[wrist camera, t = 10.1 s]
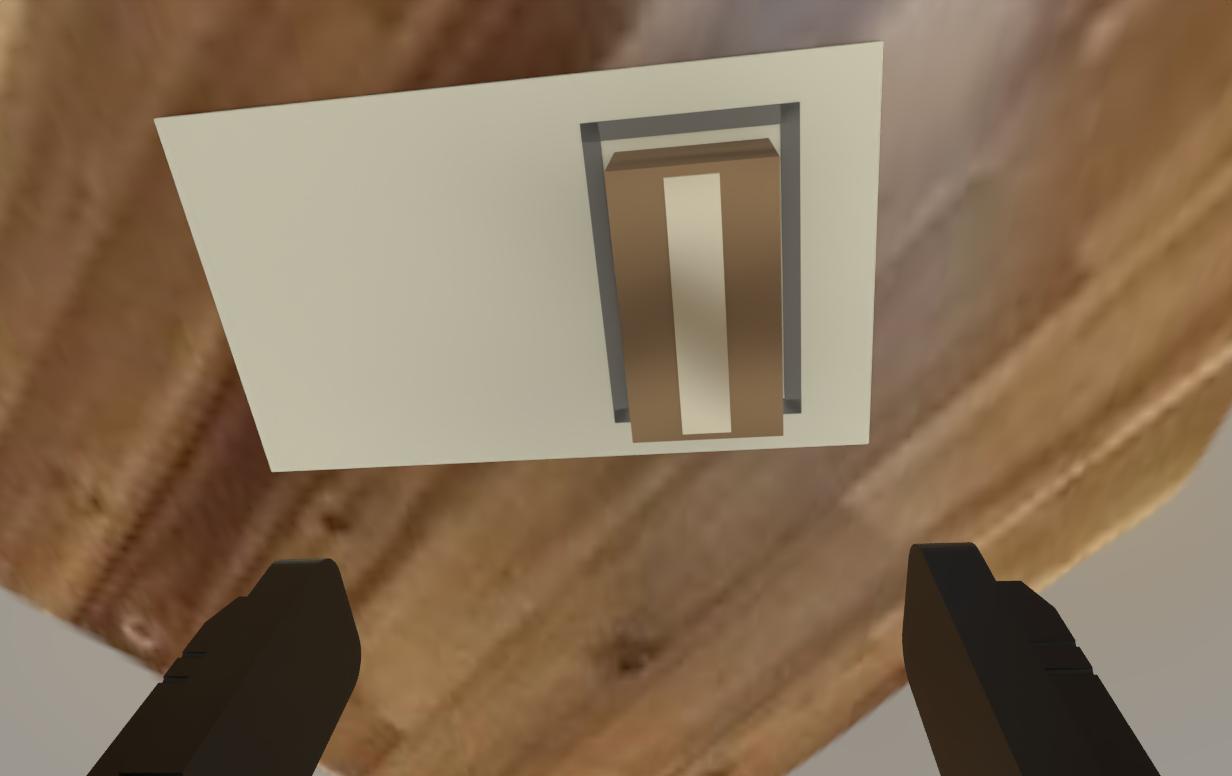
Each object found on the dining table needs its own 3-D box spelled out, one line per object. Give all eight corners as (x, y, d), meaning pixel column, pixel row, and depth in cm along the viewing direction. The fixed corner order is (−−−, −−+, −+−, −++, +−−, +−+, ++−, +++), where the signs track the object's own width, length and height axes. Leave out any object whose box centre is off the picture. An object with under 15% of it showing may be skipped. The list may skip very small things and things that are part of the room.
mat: (277, 465, 33) (270, 473, 33) (162, 117, 27) (151, 119, 27) (866, 437, 30) (869, 445, 30) (879, 40, 24) (884, 41, 24)
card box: (614, 152, 26) (603, 172, 23) (768, 137, 25) (780, 157, 22) (638, 397, 30) (632, 444, 27) (773, 389, 29) (783, 437, 26)
